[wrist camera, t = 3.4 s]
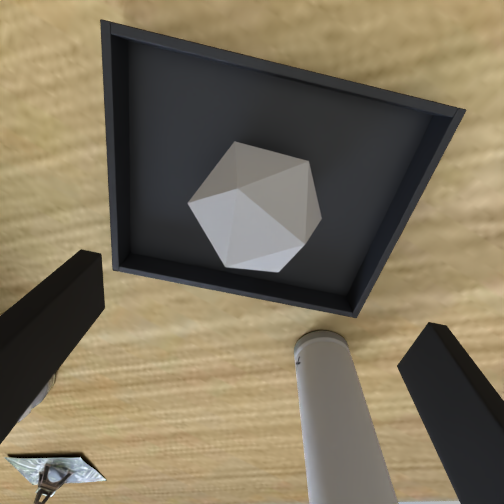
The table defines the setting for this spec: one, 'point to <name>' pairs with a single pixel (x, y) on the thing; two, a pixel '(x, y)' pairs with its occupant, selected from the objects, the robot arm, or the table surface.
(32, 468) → the eiffel tower figurine
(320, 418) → the travel mug
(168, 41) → the black tray
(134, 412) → the table surface
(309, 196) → the die
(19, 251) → the table surface
